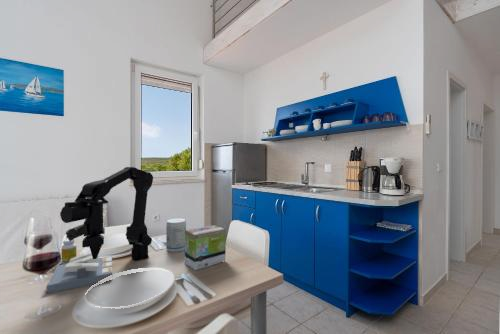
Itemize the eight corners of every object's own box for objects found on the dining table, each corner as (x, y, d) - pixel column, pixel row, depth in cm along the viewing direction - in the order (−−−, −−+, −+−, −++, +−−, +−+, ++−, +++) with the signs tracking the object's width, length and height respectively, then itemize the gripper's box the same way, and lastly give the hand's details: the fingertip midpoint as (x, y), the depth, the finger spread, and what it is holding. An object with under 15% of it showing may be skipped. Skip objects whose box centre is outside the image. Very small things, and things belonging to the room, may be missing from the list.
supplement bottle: (68, 264, 106) (68, 242, 105) (58, 263, 107) (58, 241, 107) (79, 259, 111) (79, 238, 111) (69, 259, 112) (69, 237, 112)
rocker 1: (99, 251, 104) (98, 247, 104) (99, 254, 101) (97, 250, 101) (72, 262, 99) (70, 258, 99) (70, 265, 96) (69, 261, 96)
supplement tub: (163, 248, 125) (163, 219, 125) (181, 244, 131) (181, 217, 131) (170, 254, 117) (170, 223, 117) (189, 249, 123) (188, 220, 123)
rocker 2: (99, 257, 99) (98, 253, 99) (98, 260, 96) (97, 255, 96) (69, 266, 94) (68, 262, 94) (67, 270, 91) (66, 266, 91)
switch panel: (111, 262, 108) (111, 249, 108) (112, 279, 91) (112, 264, 91) (57, 271, 98) (57, 257, 98) (47, 293, 82) (46, 276, 82)
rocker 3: (97, 267, 94) (98, 262, 94) (97, 270, 90) (98, 265, 91) (65, 268, 89) (66, 263, 89) (64, 271, 86) (65, 266, 86)
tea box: (195, 271, 98) (195, 234, 98) (184, 264, 106) (184, 229, 105) (226, 261, 108) (226, 228, 108) (213, 255, 116) (213, 224, 115)
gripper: (71, 214, 95) (71, 254, 96) (63, 224, 79) (63, 273, 79) (104, 212, 101) (104, 249, 101) (103, 220, 85) (103, 265, 85)
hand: (94, 258), depth 91 cm, fingers closed
